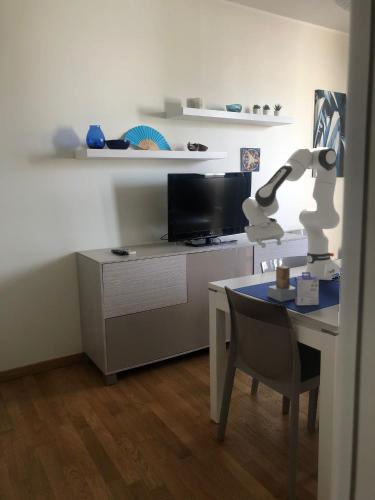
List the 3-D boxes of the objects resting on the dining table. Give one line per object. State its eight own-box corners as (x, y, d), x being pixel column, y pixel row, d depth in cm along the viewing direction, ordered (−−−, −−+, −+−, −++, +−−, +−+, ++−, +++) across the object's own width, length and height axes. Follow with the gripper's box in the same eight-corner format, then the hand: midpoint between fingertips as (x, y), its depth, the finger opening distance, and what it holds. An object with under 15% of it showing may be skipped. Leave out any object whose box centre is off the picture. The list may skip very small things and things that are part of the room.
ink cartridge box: (315, 301, 191) (316, 271, 189) (319, 305, 186) (319, 274, 183) (294, 302, 191) (294, 271, 189) (297, 305, 186) (297, 274, 183)
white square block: (284, 293, 206) (284, 283, 205) (297, 298, 197) (297, 288, 196) (268, 296, 202) (268, 286, 201) (280, 301, 193) (280, 291, 192)
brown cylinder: (283, 285, 201) (283, 265, 199) (289, 287, 197) (289, 267, 195) (276, 287, 199) (276, 266, 198) (281, 289, 195) (282, 268, 194)
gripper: (245, 222, 205) (257, 244, 198) (278, 218, 213) (291, 239, 206) (240, 230, 209) (252, 252, 202) (273, 226, 218) (285, 247, 211)
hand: (272, 245), depth 204 cm, fingers open, 8 cm apart
